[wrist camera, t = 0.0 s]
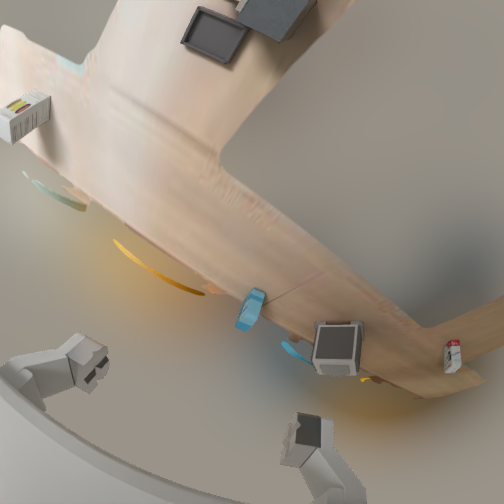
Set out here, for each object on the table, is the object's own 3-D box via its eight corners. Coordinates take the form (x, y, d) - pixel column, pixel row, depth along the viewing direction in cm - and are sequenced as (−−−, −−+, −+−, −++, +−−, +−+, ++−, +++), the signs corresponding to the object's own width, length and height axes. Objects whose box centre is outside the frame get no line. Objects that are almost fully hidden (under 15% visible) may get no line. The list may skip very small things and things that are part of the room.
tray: (184, 42, 46) (180, 43, 44) (201, 6, 39) (197, 6, 38) (229, 62, 48) (226, 64, 47) (250, 27, 41) (247, 27, 40)
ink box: (450, 340, 93) (452, 365, 85) (459, 340, 92) (461, 365, 84) (443, 349, 99) (444, 373, 91) (452, 349, 97) (453, 373, 90)
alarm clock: (320, 337, 113) (313, 378, 101) (314, 321, 105) (306, 365, 93) (364, 337, 105) (360, 379, 93) (362, 320, 97) (358, 366, 85)
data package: (254, 286, 99) (244, 315, 91) (266, 291, 99) (257, 320, 91) (243, 301, 108) (234, 328, 100) (254, 306, 108) (245, 333, 100)
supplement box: (51, 95, 60) (10, 121, 49) (50, 119, 66) (12, 146, 55) (34, 88, 58) (-6, 112, 47) (33, 111, 65) (-3, 136, 54)
